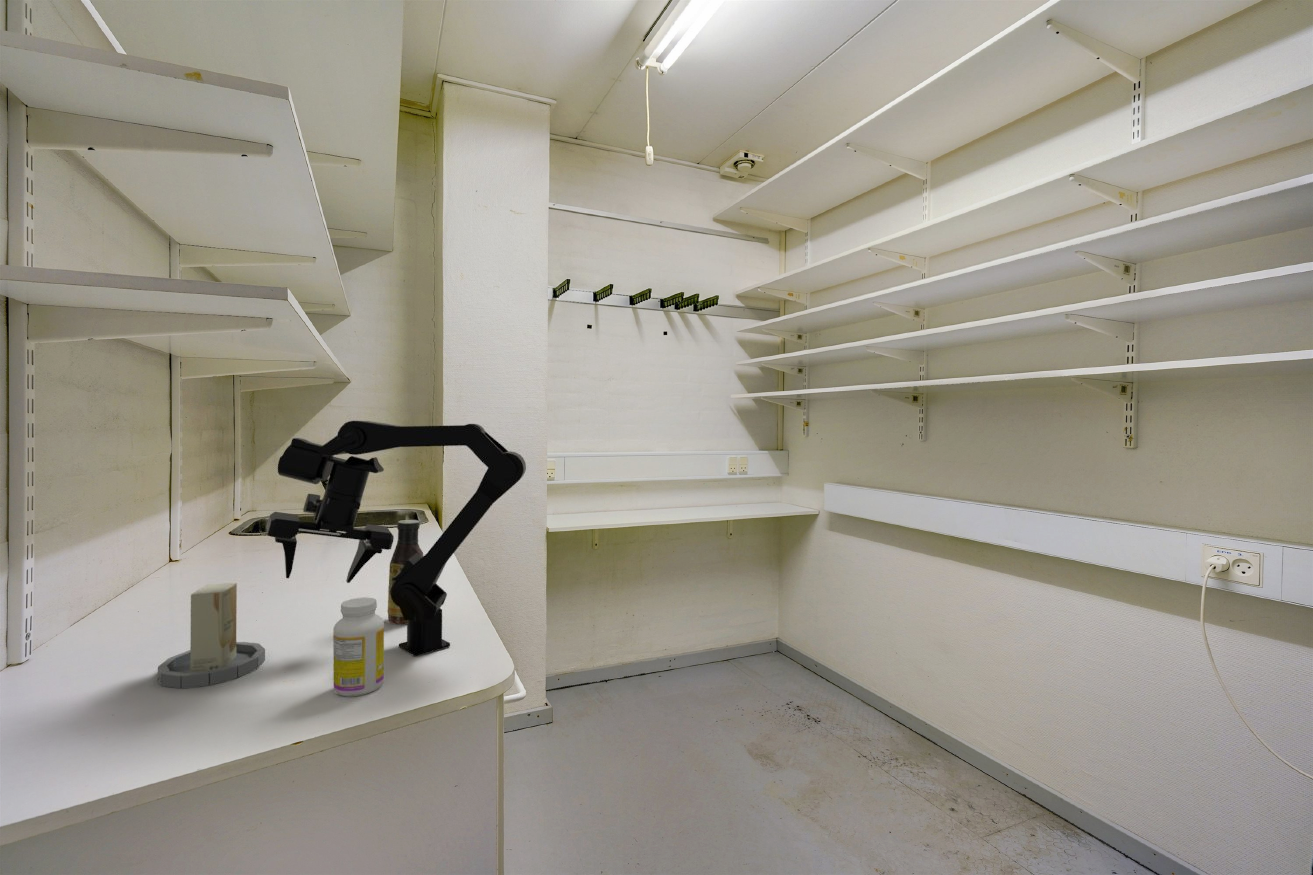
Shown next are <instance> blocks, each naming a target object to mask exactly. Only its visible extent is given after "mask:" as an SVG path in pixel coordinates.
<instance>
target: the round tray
mask: <svg viewBox="0 0 1313 875" xmlns="http://www.w3.org/2000/svg"><path fill="white" fill-rule="evenodd" d="M265 661H266V648H264V646H262V645H261V644H260V643H256V642H248V641H238V642H237V641H236V657H235V658H234V659H233V660H232V661H231V662H230V663H229V664H228V665H227V666H226V667H224V668H220V669H215V670H211V671H203V672H193V673H190V649H188V650H187V651H184V652H181V653H179V654H176V655H173V656H171V657H168V658H167V659H166V660H165V661H163V662H162V663H161V664H159V665H158V666H157V680H158V682H159V684H160V686H162V687H167V688H176V689H189V688H197V687H199V688H200V687H206V686H207V687H208V686H211V685H216V684H221V683H224V682H228V681H232V680H235V679H239V678H241V677H243V676H245V675H247V674H249V673H250V674H251V673H252V672H254V671H256V670H258V669H260V667H261V666H260V665H263V663H264V662H265ZM259 666H260V667H259ZM257 668H258V669H257ZM255 669H256V670H255ZM251 671H252V672H251Z"/></svg>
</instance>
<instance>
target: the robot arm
mask: <svg viewBox="0 0 1313 875" xmlns="http://www.w3.org/2000/svg"><path fill="white" fill-rule="evenodd" d="M454 446H455V447H459V446H460V447H461V446H464V447H467V448H469V450H470V451H471V452H472V453H473V454H474V455H475V456H476V458H478V459H479V461H480V462H482V463H483V465H485V466H486V467H487V469H486V471H485V473H484V475H483V477H482V479H481V481H480V483H479V485H478V487H477V490H475V492H474V494H472V496H471V497H470V499H468V501H467V503H465V505H464V506H463V507H462V509H461V510H460V511H459V512H458V513H457V515H456V516H455V517H454V519H453V520H452V521H451V522H450V524H449V525H448V526H447V528H445V530H444V531H443V532H442V534H441V535H440V536H439V538H438V539H436V541H435V542H434V543H433V545H432V546H431V548H430V549H429V550H428V551H427V553H426V554H424V555H423V557H422V558H421V557H420V556H419V555H418V554H417V553H416V554H415V555H413V556H412V557H411V558H410V559H409V560H407V562H406V563H405V565H404V567H403V569H402V570H401V571H400V572H399V573H398V574H397V575H396V576H395V577H394V578H392V581H395V583H394V584H393V585H392V587H391V590H390V593H391V598H392V600H393V602H394V603H395V604H396V605H397V606H398V607H400V610H401V613H402V615H403V618H404V620H407V624H406V641H403V642H401V643H400V642H399V644H398V648H400V649H401V650H403V651H404V652H406V653H408V654H410V655H412V656H413V657H418V656H423V655H425V654H428V653H433V652H436V651H439V650H442V649H443V650H444V649H445V648H448V647H450V646H451V643H450V642H449V641H447V640H445V639H443V609H442V608H441V607H442V606H444V604H445V600H446V599H447V596H448V593H447V592H446V591H445V590H444V589H443V588H442V587H441V586H440V585H438V584H437V582H438V581H439V578H440V576H441V574H442V572H443V571H444V568H445V566H446V565H447V563H448V561H449V560H450V558H452V556H453V555H454V553H455V552H456V551H457V549H459V547H460V546H462V543H464V541H465V540H466V538H467V537H468V536H469V534H471V532H472V531H473V530H474V528H475V527H476V526H477V524H478V523H479V522H480V521H481V519H482V518H483V517H484V516H485V514H486V513H487V512H488V511H489V510H490V508H491V507H492V506H493V505H494V503H495V502H496V501H498V500H499V499H500V498H501V497H502V496H503V495H505V494H506V493H507V492H508V491H510V489H512V488H513V487H514V486H515V485H516V484H517V483H518V482H519V481H520V480H521V479H522V478H523V477H524V475H525V473H526V470H527V464H526V460H525V459H524V457H523V456H522V455H521V454H520V453H518V452H516V451H510V450H508V449H507V448H505V446H504V445H502V444H501V443H500V442H499V441H498V440H496V439H495V438H494V437H493V436H491V435H490V434H489V433H488V432H487V431H486V430H485V429H484V427H483V426H482V425H480V424H478V423H477V424H476V423H468V424H467V423H466V424H463V425H461V424H460V425H459V424H458V425H457V424H456V425H455V424H454V425H411V426H410V425H409V426H407V425H403V426H401V425H396V424H395V425H394V424H390V423H385V422H378V421H370V420H350V421H346V422H345V423H344V424H343V425H341V427H339V429H338V431H337V435H336V436H334V437H333V438H331V439H330V440H329V441H327V442H325V443H324V444H319V443H315V442H312V441H309V440H307V439H304V438H300V437H294V438H292V439H291V442H290V444H289V445H288V446H287V447H286V448H285V450H284V451H283V453H282V455H281V456H280V457H279V460H278V463H277V473H278V475H279V476H281V477H284V478H289V479H292V480H297V481H301V482H304V483H309V484H312V485H318V484H320V482H322V481H326V480H327V484H326V487H325V490H324V493H323V497H322V499H321V495H320V494H314V493H308V494H307V495H306V499H305V501H304V505H303V509H302V512H303V513H308V514H313V518H312V519H313V521H315V522H311V521H303V520H302V521H301V520H300V517H299V515H298V514H296V513H295V514H294V513H288V512H287V513H285V512H278V511H273V512H272V513H270V515H269V516H268V519H267V523H266V527H265V528H266V535H267V536H268V537H270V538H271V537H272V538H274V542H275V543H278V544H282V547H283V551H284V567H285V578H286V579H290V578H291V574H292V571H293V567H294V561H295V555H296V548H297V543H298V540H297V537H296V536H298V534H306V535H307V534H309V535H315V536H316V535H317V536H325V537H333V538H334V537H335V538H341V539H350V540H351V539H352V540H357V541H358V546H357V549H356V553H355V555H354V558H353V560H352V562H351V564H350V567H349V570H348V572H347V576H346V580H345V581H346V583H347V584H349V583H351V581H352V580H354V578H355V577H356V575H357V574H359V572H360V570H362V568H364V566H365V565H366V564H367V563H368V562H369V561H370V560H371V559H372V558H373V557H374V556H375V555H377V554H382V553H383V550H389V551H390V550H392V546H393V544H394V539H395V538H394V534H393V533H392V532H391V531H390V529H389V528H388V526H383V525H378V524H377V525H376V524H369V523H367V524H366V525H365V526H364V529H363V528H359V527H357V528H356V527H355V526H354V525H355V523H356V519H357V515H358V512H359V510H360V508H361V502H362V499H363V495H364V492H365V489H366V485H367V482H368V478H369V474H370V473H373V474H379V473H382V472H384V471H385V468H384V467H383V465H381V463H380V462H379V459H378V457H371V458H369V459H366V458H361V457H357V456H358V455H364V454H371V453H377V452H382V451H387V450H393V449H397V448H408V447H409V448H413V447H417V448H419V447H420V448H421V447H454ZM347 454H349V455H351V456H349V457H348V458H347V459H345V458H341V457H337V456H341V455H347ZM354 455H355V456H354Z"/></svg>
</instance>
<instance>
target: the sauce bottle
mask: <svg viewBox="0 0 1313 875" xmlns="http://www.w3.org/2000/svg"><path fill="white" fill-rule="evenodd" d="M420 525H421V524H420V521H419V520H417V519H404V520H403V519H402V520H401V519H400V520H398V521H397V525H396V526H397V527H396V528H397V543H396V546H395V548H394V551H393V553H392V557H391V559H390V562H389V573H388V574H389V575H388V596H387V598H388V599H387V619H388V622H390V623H391V624H395V625H399V624H400V625H407V620H404V618H403V615H402V613H401V610H400V607H398V606H397V605H396V604H395V603H394V602H393V600H392V598H391V593H390V590H391V587H392V585H393V584H394V583H395V581H392V578H394V577H395V576H396V575H397V574H398V573H399V572H400V571H401V570H402V569H403V567H404V565H405V563H406V562H407V560H409V559H410V558H411V557H412V556H413V555H415V554H416V553H417V554H418V555H419V556H420V557H421V558H422V557H423V556H424V553H423V551H422V549H421V547H420V544H419V529H420Z"/></svg>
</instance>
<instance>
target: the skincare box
mask: <svg viewBox="0 0 1313 875" xmlns="http://www.w3.org/2000/svg"><path fill="white" fill-rule="evenodd" d="M237 588H238V584H237V582H234V583H233V582H231V583H217V584H216V583H214V584H213V583H212V584H206V585H205V586H203V587H201V588H199V589H197V590H196V591H194V592H193V593H191V594H190V649H189V650H190V673H193V672H203V671H211V670H215V669H220V668H224V667H226V666H227V665H228V664H229V663H230V662H231V661H232V660H233V659H234V658H235V657H236V642H237V610H238V608H237V599H238V597H237V596H238V595H237V594H238V593H237V592H238V591H237V590H238V589H237Z"/></svg>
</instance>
